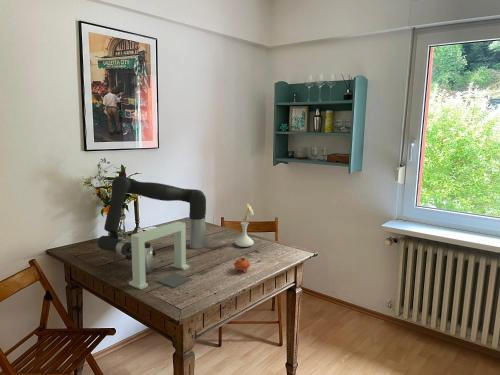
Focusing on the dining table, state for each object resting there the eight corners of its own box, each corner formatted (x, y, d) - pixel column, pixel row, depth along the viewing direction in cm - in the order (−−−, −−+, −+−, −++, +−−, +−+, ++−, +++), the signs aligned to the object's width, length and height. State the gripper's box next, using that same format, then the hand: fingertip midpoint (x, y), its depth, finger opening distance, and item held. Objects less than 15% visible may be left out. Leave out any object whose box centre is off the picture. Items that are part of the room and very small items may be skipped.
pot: (254, 269, 179) (252, 257, 177) (243, 277, 174) (242, 265, 172) (242, 264, 184) (240, 253, 182) (231, 272, 179) (230, 260, 177)
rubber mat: (156, 281, 164) (156, 280, 164) (174, 273, 173) (174, 272, 173) (173, 288, 158) (173, 287, 158) (191, 279, 167) (191, 278, 167)
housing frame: (128, 284, 160) (126, 234, 156) (178, 263, 185) (177, 220, 181) (140, 289, 156) (138, 238, 152) (189, 267, 180) (189, 223, 176)
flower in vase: (247, 249, 207) (248, 207, 203) (230, 246, 213) (231, 205, 209) (258, 243, 219) (259, 203, 214) (242, 240, 224) (243, 201, 220)
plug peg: (152, 268, 178) (151, 241, 176) (153, 271, 174) (153, 244, 172) (143, 269, 176) (142, 242, 174) (144, 273, 173) (143, 245, 170)
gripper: (114, 245, 177) (135, 253, 168) (138, 238, 188) (159, 245, 179) (115, 260, 178) (136, 268, 169) (138, 252, 190) (159, 259, 180)
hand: (148, 256), depth 174 cm, fingers open, 8 cm apart
